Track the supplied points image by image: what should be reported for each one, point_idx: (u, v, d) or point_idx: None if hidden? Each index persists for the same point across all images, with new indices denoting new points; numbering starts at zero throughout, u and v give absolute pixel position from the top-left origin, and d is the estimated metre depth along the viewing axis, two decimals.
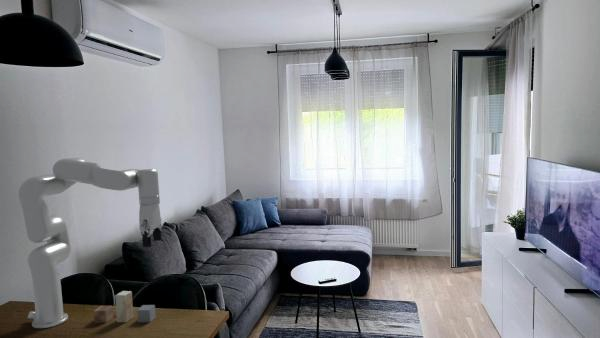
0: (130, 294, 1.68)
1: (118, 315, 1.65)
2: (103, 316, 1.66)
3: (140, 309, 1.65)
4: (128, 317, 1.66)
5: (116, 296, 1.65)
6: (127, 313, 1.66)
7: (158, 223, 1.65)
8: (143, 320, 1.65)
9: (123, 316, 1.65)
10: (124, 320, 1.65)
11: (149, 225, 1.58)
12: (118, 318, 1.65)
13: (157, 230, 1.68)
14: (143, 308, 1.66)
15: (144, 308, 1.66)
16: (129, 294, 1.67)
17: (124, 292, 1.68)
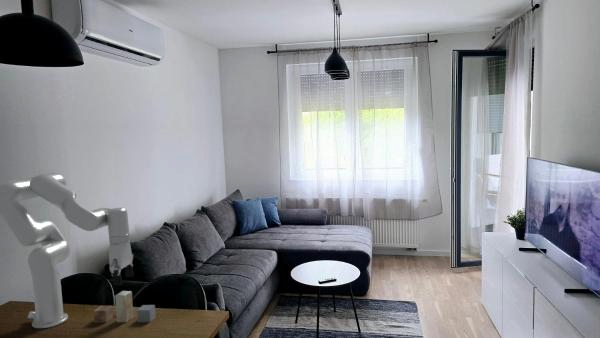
0: (130, 294, 1.68)
1: (118, 315, 1.65)
2: (103, 316, 1.66)
3: (140, 309, 1.65)
4: (128, 317, 1.66)
5: (116, 296, 1.65)
6: (127, 313, 1.66)
7: (129, 260, 1.68)
8: (143, 320, 1.65)
9: (123, 316, 1.65)
10: (124, 320, 1.65)
11: (119, 264, 1.61)
12: (118, 318, 1.65)
13: (129, 267, 1.71)
14: (143, 308, 1.66)
15: (144, 308, 1.66)
16: (129, 294, 1.67)
17: (124, 292, 1.68)
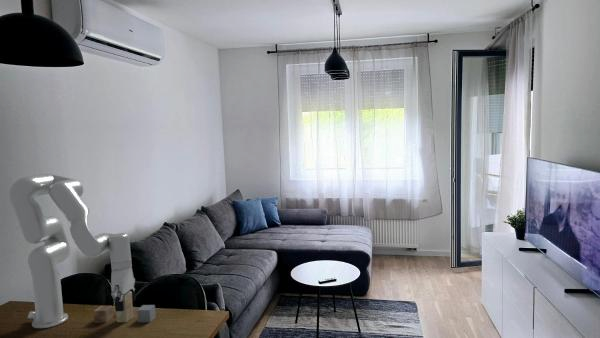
0: (130, 294, 1.68)
1: (118, 315, 1.65)
2: (103, 316, 1.66)
3: (140, 309, 1.65)
4: (128, 317, 1.66)
5: None
6: (127, 313, 1.66)
7: (131, 285, 1.68)
8: (143, 320, 1.65)
9: (123, 316, 1.65)
10: (124, 320, 1.65)
11: (121, 290, 1.62)
12: (118, 318, 1.65)
13: None
14: (143, 308, 1.66)
15: (144, 308, 1.66)
16: (129, 294, 1.67)
17: None
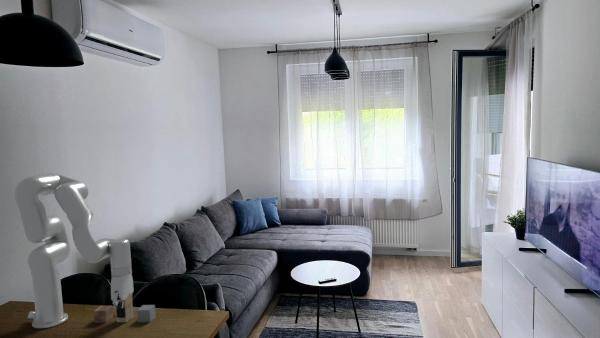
0: (130, 294, 1.68)
1: None
2: (103, 316, 1.66)
3: (140, 309, 1.65)
4: (128, 317, 1.66)
5: None
6: (127, 313, 1.66)
7: (130, 291, 1.69)
8: (143, 320, 1.65)
9: None
10: (124, 320, 1.65)
11: (121, 298, 1.62)
12: (118, 318, 1.65)
13: None
14: (143, 308, 1.66)
15: (144, 308, 1.66)
16: (129, 294, 1.67)
17: None
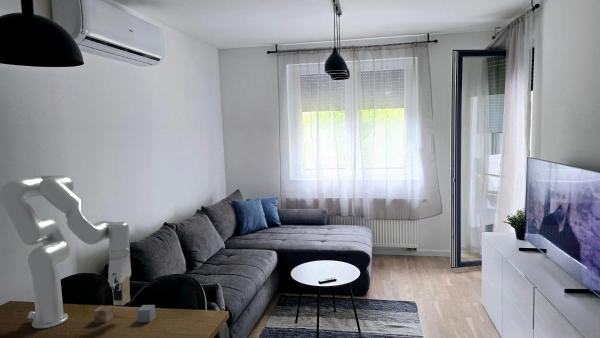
0: (127, 277, 1.68)
1: None
2: (103, 316, 1.66)
3: (140, 309, 1.65)
4: (125, 300, 1.66)
5: None
6: (124, 296, 1.65)
7: (128, 274, 1.68)
8: (143, 320, 1.65)
9: None
10: (121, 303, 1.64)
11: (118, 281, 1.62)
12: (115, 301, 1.65)
13: None
14: (143, 308, 1.66)
15: (144, 308, 1.66)
16: (126, 277, 1.67)
17: None
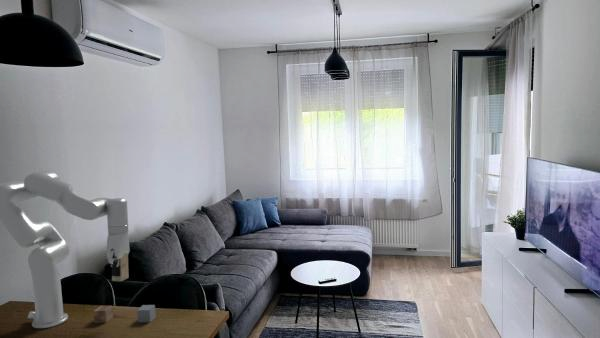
0: (126, 254, 1.68)
1: None
2: (103, 316, 1.66)
3: (140, 309, 1.65)
4: (123, 276, 1.66)
5: None
6: (122, 272, 1.66)
7: (126, 251, 1.69)
8: (143, 320, 1.65)
9: None
10: (119, 279, 1.65)
11: (117, 256, 1.62)
12: (113, 277, 1.65)
13: None
14: (143, 308, 1.66)
15: (144, 308, 1.66)
16: (125, 254, 1.67)
17: None
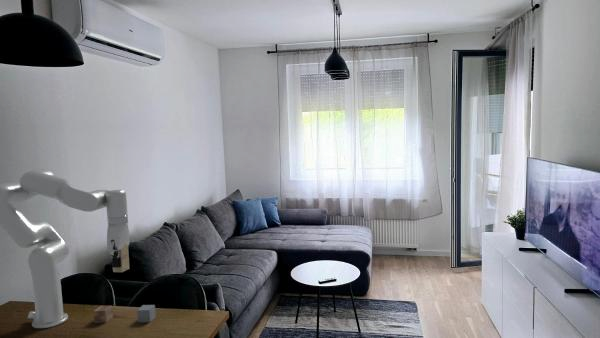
0: (126, 245, 1.69)
1: None
2: (103, 316, 1.66)
3: (140, 309, 1.65)
4: (124, 267, 1.67)
5: None
6: (123, 263, 1.66)
7: (126, 242, 1.69)
8: (143, 320, 1.65)
9: None
10: (120, 270, 1.65)
11: (117, 247, 1.63)
12: (114, 268, 1.66)
13: None
14: (143, 308, 1.66)
15: (144, 308, 1.66)
16: (125, 245, 1.68)
17: None
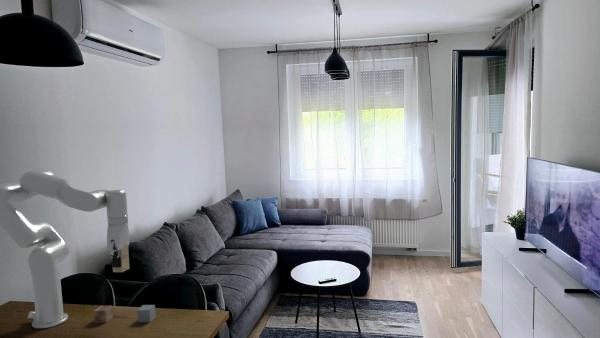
0: (126, 245, 1.69)
1: None
2: (103, 316, 1.66)
3: (140, 309, 1.65)
4: (124, 267, 1.67)
5: None
6: (123, 263, 1.66)
7: (126, 242, 1.69)
8: (143, 320, 1.65)
9: None
10: (120, 270, 1.65)
11: (117, 247, 1.63)
12: (114, 268, 1.66)
13: None
14: (143, 308, 1.66)
15: (144, 308, 1.66)
16: (125, 245, 1.68)
17: None
